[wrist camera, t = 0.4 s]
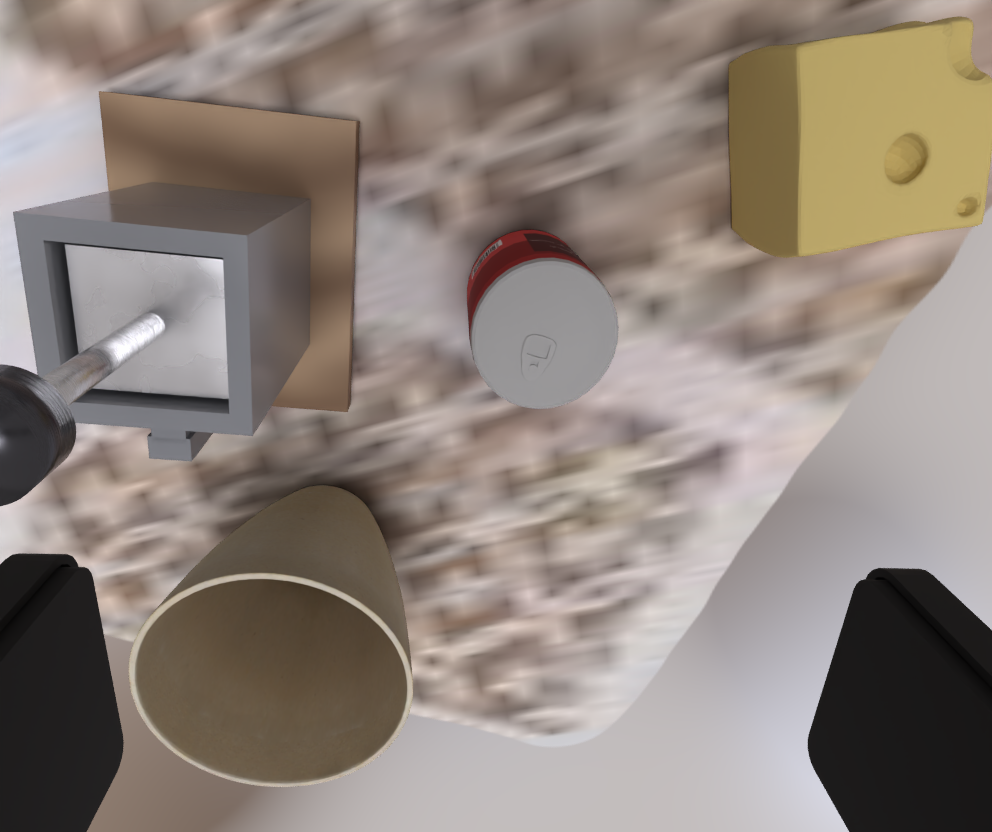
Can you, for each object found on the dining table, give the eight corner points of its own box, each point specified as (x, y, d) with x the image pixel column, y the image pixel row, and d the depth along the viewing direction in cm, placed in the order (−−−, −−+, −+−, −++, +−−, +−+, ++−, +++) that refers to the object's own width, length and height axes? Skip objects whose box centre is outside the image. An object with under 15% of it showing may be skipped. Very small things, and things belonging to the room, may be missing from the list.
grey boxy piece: (152, 181, 40) (13, 211, 28) (310, 198, 41) (247, 235, 28) (166, 370, 45) (52, 472, 32) (309, 382, 46) (253, 485, 33)
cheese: (893, 25, 41) (1020, -2, 32) (882, 212, 45) (991, 237, 36) (717, 55, 41) (793, 38, 32) (722, 240, 45) (791, 271, 36)
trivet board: (110, 92, 40) (98, 91, 38) (359, 121, 41) (356, 121, 40) (138, 386, 47) (129, 394, 45) (350, 403, 48) (347, 411, 47)
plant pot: (266, 402, 48) (184, 529, 33) (459, 490, 51) (461, 640, 37) (190, 565, 52) (89, 739, 38) (371, 635, 56) (343, 819, 41)
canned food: (466, 348, 47) (470, 411, 37) (465, 226, 44) (469, 259, 34) (579, 347, 48) (613, 410, 37) (586, 227, 44) (626, 259, 34)
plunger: (74, 241, 30) (-187, 327, 18) (228, 256, 30) (79, 349, 18) (91, 381, 32) (-128, 541, 20) (233, 392, 33) (105, 555, 21)
